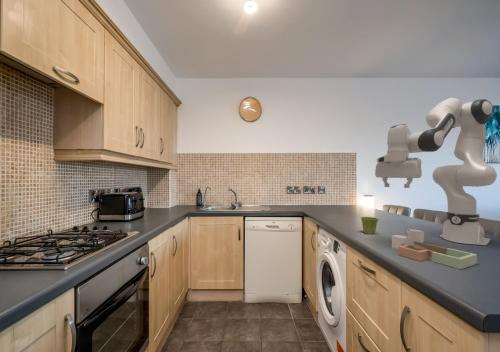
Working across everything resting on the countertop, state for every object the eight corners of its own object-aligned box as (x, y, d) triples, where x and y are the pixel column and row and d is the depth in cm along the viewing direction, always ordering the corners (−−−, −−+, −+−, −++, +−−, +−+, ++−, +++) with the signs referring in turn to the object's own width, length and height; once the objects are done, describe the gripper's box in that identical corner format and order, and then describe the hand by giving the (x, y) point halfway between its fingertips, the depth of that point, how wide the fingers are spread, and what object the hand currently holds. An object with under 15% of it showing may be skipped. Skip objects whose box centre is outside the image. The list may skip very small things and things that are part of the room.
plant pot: (375, 231, 143) (376, 217, 143) (380, 235, 133) (380, 219, 133) (358, 230, 145) (359, 216, 145) (362, 234, 135) (362, 219, 135)
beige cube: (427, 247, 111) (427, 232, 111) (410, 246, 112) (410, 231, 112) (420, 243, 118) (420, 229, 118) (404, 242, 119) (404, 228, 119)
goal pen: (447, 256, 99) (447, 247, 99) (477, 263, 90) (477, 254, 90) (431, 261, 93) (431, 252, 93) (460, 269, 85) (461, 259, 85)
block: (398, 246, 113) (398, 234, 113) (409, 249, 108) (409, 237, 108) (391, 247, 111) (391, 235, 111) (402, 250, 106) (402, 238, 106)
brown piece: (415, 248, 109) (415, 241, 109) (446, 256, 98) (446, 248, 98) (401, 251, 104) (401, 243, 104) (432, 260, 93) (432, 251, 93)
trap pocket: (405, 253, 102) (405, 244, 102) (427, 259, 95) (427, 250, 95) (398, 254, 100) (398, 246, 100) (420, 261, 93) (420, 252, 93)
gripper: (425, 157, 107) (424, 188, 106) (381, 160, 125) (380, 186, 125) (417, 156, 104) (416, 188, 104) (373, 159, 122) (372, 186, 122)
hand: (396, 187), depth 114 cm, fingers open, 8 cm apart
